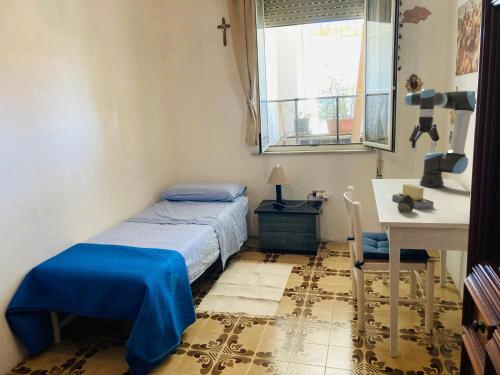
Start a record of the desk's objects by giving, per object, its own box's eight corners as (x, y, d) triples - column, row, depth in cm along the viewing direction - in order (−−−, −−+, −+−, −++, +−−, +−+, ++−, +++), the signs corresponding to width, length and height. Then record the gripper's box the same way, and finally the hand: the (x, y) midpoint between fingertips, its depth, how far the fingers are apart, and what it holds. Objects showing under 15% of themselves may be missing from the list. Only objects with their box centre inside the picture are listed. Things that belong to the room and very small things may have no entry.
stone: (400, 214, 212) (394, 202, 207) (403, 204, 216) (397, 192, 211) (414, 213, 207) (408, 202, 202) (417, 203, 211) (411, 191, 206)
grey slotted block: (405, 198, 235) (406, 191, 235) (433, 207, 215) (433, 200, 214) (392, 200, 232) (392, 193, 231) (418, 209, 212) (419, 202, 211)
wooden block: (407, 198, 230) (408, 184, 228) (422, 203, 218) (423, 188, 216) (402, 199, 228) (403, 184, 226) (416, 204, 217) (417, 188, 215)
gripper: (413, 117, 215) (410, 154, 220) (448, 115, 223) (444, 151, 228) (404, 117, 222) (401, 153, 227) (438, 115, 230) (435, 150, 235)
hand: (423, 152), depth 227 cm, fingers open, 13 cm apart
